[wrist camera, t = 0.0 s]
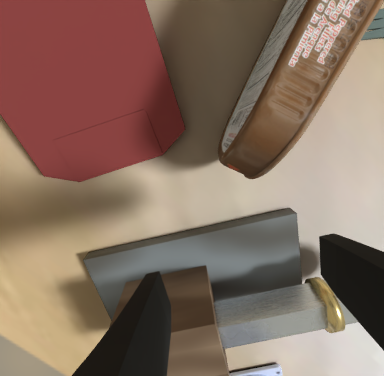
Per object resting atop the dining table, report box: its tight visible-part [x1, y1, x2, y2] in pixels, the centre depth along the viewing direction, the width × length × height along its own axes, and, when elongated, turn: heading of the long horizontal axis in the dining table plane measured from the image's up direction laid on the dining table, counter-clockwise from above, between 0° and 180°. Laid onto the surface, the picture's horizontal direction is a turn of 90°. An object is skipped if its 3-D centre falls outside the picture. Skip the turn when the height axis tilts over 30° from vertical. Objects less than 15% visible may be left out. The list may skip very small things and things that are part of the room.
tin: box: [218, 0, 384, 179], centre depth 12 cm, size 15×3×8 cm, turn 155°
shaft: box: [214, 277, 358, 349], centre depth 17 cm, size 4×18×4 cm, turn 103°
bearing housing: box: [83, 208, 302, 376], centre depth 18 cm, size 14×20×7 cm
